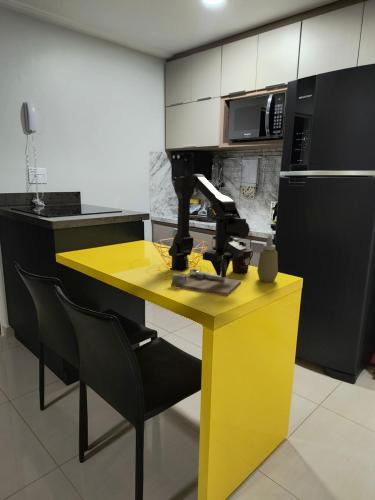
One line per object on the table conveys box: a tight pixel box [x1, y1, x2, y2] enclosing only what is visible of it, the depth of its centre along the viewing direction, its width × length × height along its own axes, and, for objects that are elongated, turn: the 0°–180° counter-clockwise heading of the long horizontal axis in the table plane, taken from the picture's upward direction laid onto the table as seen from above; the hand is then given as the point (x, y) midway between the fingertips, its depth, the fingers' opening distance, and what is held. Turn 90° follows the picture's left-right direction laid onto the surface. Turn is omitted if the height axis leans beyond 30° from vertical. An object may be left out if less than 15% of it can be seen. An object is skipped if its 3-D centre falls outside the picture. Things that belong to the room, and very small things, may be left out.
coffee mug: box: [231, 247, 254, 275], centre depth 146 cm, size 12×9×10 cm
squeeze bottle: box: [256, 235, 279, 283], centre depth 133 cm, size 8×8×18 cm
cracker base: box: [170, 272, 242, 297], centre depth 127 cm, size 22×16×4 cm
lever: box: [189, 258, 228, 281], centre depth 131 cm, size 15×5×8 cm, turn 63°
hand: (221, 274), depth 128 cm, fingers open, 4 cm apart
